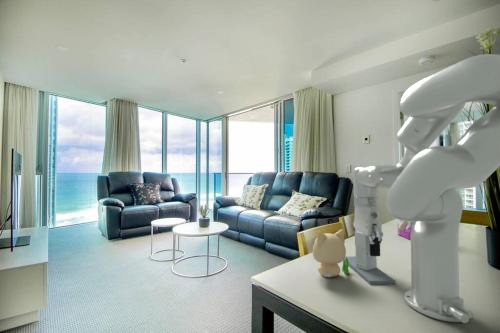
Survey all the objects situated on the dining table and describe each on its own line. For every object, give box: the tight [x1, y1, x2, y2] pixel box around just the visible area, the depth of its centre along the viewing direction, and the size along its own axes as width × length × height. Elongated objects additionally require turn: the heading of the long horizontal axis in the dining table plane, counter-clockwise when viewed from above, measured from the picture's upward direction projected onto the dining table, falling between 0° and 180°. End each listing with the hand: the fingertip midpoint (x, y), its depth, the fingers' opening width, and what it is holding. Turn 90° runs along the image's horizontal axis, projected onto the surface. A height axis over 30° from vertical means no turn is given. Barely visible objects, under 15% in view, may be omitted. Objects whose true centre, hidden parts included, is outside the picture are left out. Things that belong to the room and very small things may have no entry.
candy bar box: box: [397, 219, 414, 241], centre depth 119 cm, size 11×5×16 cm, turn 179°
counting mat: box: [342, 255, 396, 285], centre depth 80 cm, size 20×8×1 cm, turn 2°
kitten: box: [312, 228, 350, 278], centre depth 76 cm, size 15×10×15 cm, turn 109°
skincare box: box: [354, 231, 378, 270], centre depth 80 cm, size 6×4×12 cm
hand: (366, 251), depth 79 cm, fingers open, 9 cm apart
